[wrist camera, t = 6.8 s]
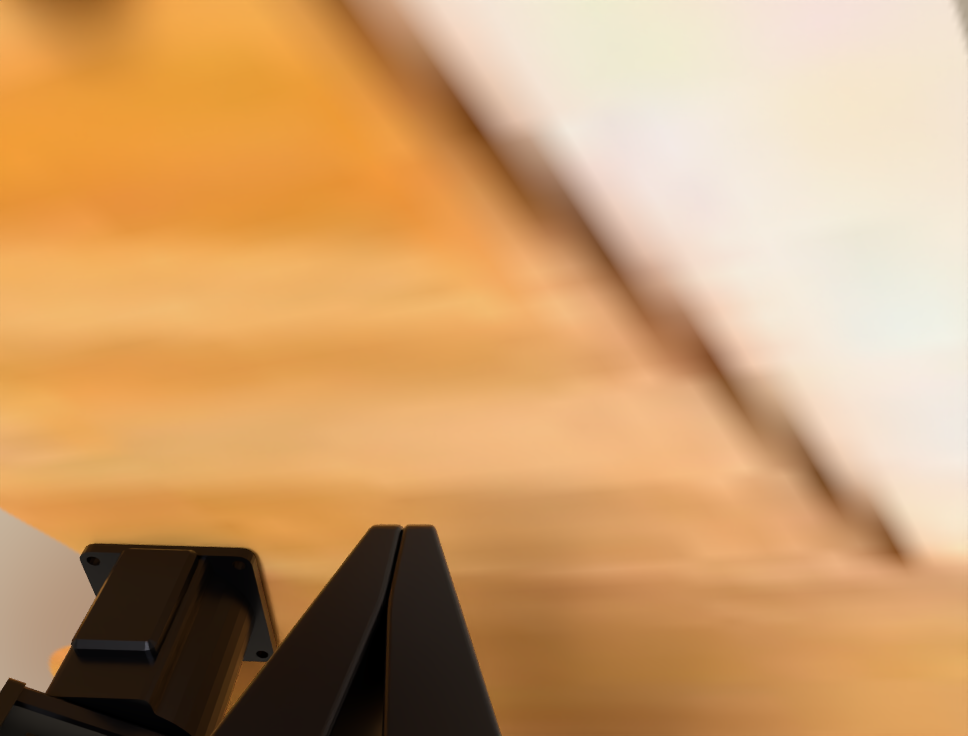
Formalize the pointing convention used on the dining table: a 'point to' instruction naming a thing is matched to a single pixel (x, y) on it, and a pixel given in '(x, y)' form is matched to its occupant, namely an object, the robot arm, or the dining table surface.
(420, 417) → the dining table surface
